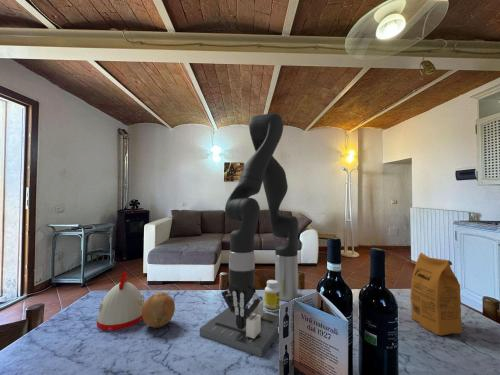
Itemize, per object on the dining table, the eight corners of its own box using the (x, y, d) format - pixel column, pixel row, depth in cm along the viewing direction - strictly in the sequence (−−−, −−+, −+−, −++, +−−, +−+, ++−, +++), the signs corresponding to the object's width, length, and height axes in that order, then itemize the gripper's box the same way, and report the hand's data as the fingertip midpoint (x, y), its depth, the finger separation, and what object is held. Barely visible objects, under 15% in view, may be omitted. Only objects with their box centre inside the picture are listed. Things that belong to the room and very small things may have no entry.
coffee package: (433, 316, 80) (431, 251, 81) (469, 337, 67) (465, 260, 69) (405, 316, 80) (403, 251, 81) (435, 337, 67) (432, 260, 69)
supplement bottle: (278, 313, 82) (278, 284, 82) (263, 311, 83) (263, 283, 83) (280, 306, 87) (280, 279, 87) (265, 304, 88) (265, 278, 89)
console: (232, 310, 83) (232, 304, 83) (285, 324, 74) (285, 317, 74) (199, 335, 68) (199, 327, 68) (261, 357, 58) (261, 348, 58)
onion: (169, 314, 80) (170, 285, 80) (178, 327, 72) (179, 294, 72) (138, 323, 74) (139, 291, 75) (145, 338, 66) (146, 302, 67)
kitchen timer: (146, 307, 85) (148, 266, 86) (141, 326, 72) (143, 277, 73) (103, 312, 81) (105, 269, 82) (90, 333, 68) (92, 281, 69)
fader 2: (252, 329, 67) (252, 312, 67) (260, 331, 66) (260, 314, 66) (246, 336, 63) (246, 319, 63) (254, 338, 62) (254, 321, 62)
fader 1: (256, 313, 76) (256, 299, 77) (263, 314, 75) (263, 300, 75) (250, 318, 73) (250, 303, 73) (257, 320, 72) (257, 305, 72)
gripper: (267, 266, 68) (267, 327, 67) (229, 260, 74) (229, 316, 73) (256, 273, 61) (256, 341, 60) (215, 266, 67) (214, 327, 66)
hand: (241, 327), depth 66 cm, fingers closed
